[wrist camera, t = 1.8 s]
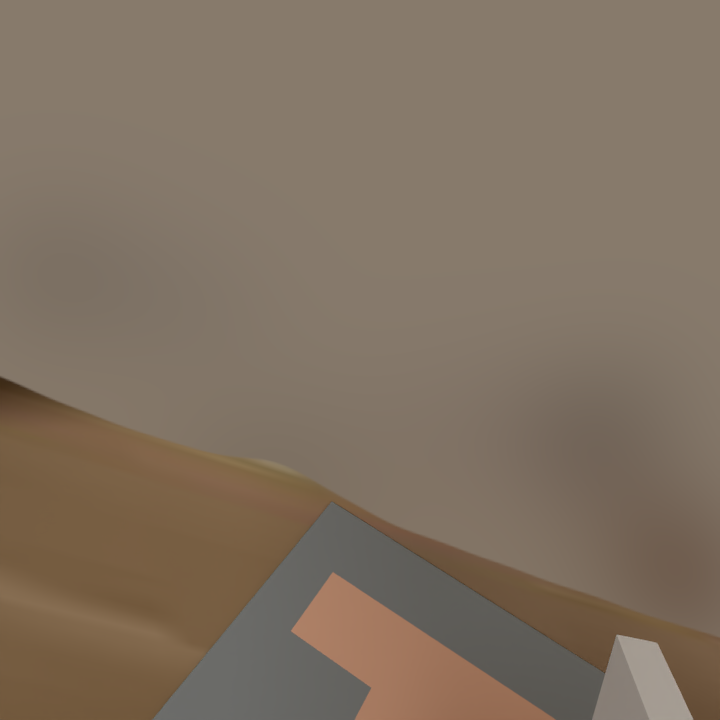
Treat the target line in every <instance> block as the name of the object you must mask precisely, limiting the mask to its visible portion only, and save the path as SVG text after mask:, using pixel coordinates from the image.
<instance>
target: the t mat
mask: <svg viewBox="0 0 720 720" xmlns="http://www.w3.org/2000/svg"><path fill="white" fill-rule="evenodd" d="M604 676H605V673H603V672H602V671H600V670H599V669H597V668H596V667H594V666H592V665H591V664H589V663H588V662H586V661H584V660H583V659H581V658H580V657H578V656H576V655H575V654H573V653H572V652H570V651H569V650H567V649H565V648H564V647H562V646H561V645H559V644H557V643H556V642H554V641H553V640H551V639H549V638H548V637H546V636H545V635H543V634H541V633H540V632H538V631H537V630H535V629H534V628H532V627H530V626H529V625H527V624H526V623H524V622H522V621H521V620H519V619H518V618H516V617H514V616H513V615H511V614H510V613H508V612H507V611H505V610H503V609H502V608H500V607H499V606H497V605H495V604H494V603H492V602H491V601H489V600H487V599H486V598H484V597H483V596H481V595H480V594H478V593H476V592H475V591H473V590H472V589H470V588H468V587H467V586H465V585H464V584H462V583H460V582H459V581H457V580H456V579H454V578H452V577H451V576H449V575H448V574H446V573H445V572H443V571H441V570H440V569H438V568H437V567H435V566H433V565H432V564H430V563H429V562H427V561H425V560H424V559H422V558H421V557H419V556H418V555H416V554H414V553H413V552H411V551H410V550H408V549H406V548H405V547H403V546H402V545H400V544H398V543H397V542H395V541H394V540H392V539H391V538H389V537H387V536H386V535H384V534H383V533H381V532H379V531H378V530H376V529H375V528H373V527H371V526H370V525H368V524H367V523H365V522H364V521H362V520H360V519H359V518H357V517H356V516H354V515H352V514H351V513H349V512H348V511H346V510H344V509H343V508H341V507H340V506H338V505H336V504H335V503H333V502H331V503H330V504H329V506H328V507H327V508H326V509H325V510H324V512H323V513H322V514H321V515H320V517H319V518H318V519H317V520H316V521H315V523H314V524H313V525H312V526H311V528H310V529H309V530H308V531H307V532H306V534H305V535H304V536H303V537H302V538H301V540H300V541H299V542H298V543H297V545H296V546H295V547H294V548H293V549H292V551H291V552H290V553H289V554H288V555H287V557H286V558H285V559H284V560H283V562H282V563H281V564H280V565H279V566H278V568H277V569H276V570H275V571H274V572H273V574H272V575H271V576H270V577H269V579H268V580H267V581H266V582H265V583H264V585H263V586H262V587H261V588H260V590H259V591H258V592H257V593H256V594H255V596H254V597H253V598H252V599H251V600H250V602H249V603H248V604H247V605H246V607H245V608H244V609H243V610H242V611H241V613H240V614H239V615H238V616H237V617H236V619H235V620H234V621H233V622H232V624H231V625H230V626H229V627H228V628H227V630H226V631H225V632H224V633H223V635H222V636H221V637H220V638H219V639H218V641H217V642H216V643H215V644H214V645H213V647H212V648H211V649H210V650H209V652H208V653H207V654H206V655H205V656H204V658H203V659H202V660H201V661H200V662H199V664H198V665H197V666H196V667H195V669H194V670H193V671H192V672H191V673H190V675H189V676H188V677H187V678H186V679H185V681H184V682H183V683H182V684H181V686H180V687H179V688H178V689H177V690H176V692H175V693H174V694H173V695H172V697H171V698H170V699H169V700H168V701H167V703H166V704H165V705H164V706H163V707H162V709H161V710H160V711H159V712H158V714H157V715H156V716H155V717H154V718H153V720H592V718H593V714H594V711H595V708H596V704H597V701H598V697H599V694H600V690H601V687H602V683H603V680H604Z"/></svg>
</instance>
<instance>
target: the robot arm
mask: <svg viewBox="0 0 720 720" xmlns="http://www.w3.org/2000/svg"><path fill="white" fill-rule="evenodd" d="M592 720H693V718H692V716H691V714H690V712H689V709H688V707H687V705H686V703H685V701H684V699H683V697H682V695H681V692H680V690H679V688H678V686H677V684H676V682H675V680H674V678H673V675H672V673H671V671H670V669H669V667H668V665H667V663H666V661H665V658H664V656H663V654H662V652H661V650H660V648H659V646H658V644H657V643H655V642H651V641H646V640H641V639H636V638H631V637H626V636H622V635H616V638H615V642H614V645H613V649H612V652H611V656H610V659H609V662H608V666H607V669H606V673H605V676H604V680H603V683H602V687H601V690H600V694H599V697H598V701H597V704H596V708H595V711H594V714H593V718H592Z"/></svg>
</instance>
